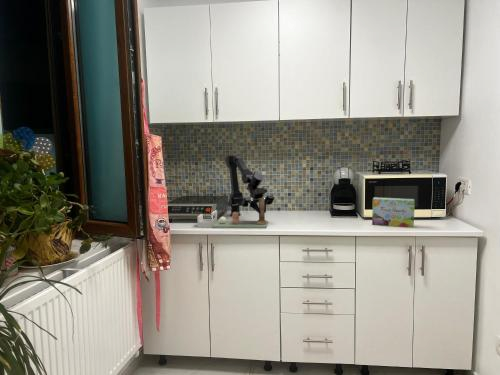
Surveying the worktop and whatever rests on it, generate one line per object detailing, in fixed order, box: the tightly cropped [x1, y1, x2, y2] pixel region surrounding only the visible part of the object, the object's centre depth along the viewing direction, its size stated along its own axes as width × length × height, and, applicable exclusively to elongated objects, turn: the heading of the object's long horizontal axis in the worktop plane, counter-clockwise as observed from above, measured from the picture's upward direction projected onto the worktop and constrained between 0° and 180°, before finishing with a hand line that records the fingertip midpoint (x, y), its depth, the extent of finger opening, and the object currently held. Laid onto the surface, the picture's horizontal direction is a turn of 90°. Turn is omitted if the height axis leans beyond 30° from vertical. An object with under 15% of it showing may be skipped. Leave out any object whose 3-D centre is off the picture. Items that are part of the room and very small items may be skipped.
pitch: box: [196, 209, 269, 229], centre depth 208 cm, size 14×39×8 cm, turn 83°
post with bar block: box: [231, 197, 268, 224], centre depth 206 cm, size 5×20×14 cm, turn 83°
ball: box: [218, 216, 227, 224], centre depth 208 cm, size 4×4×4 cm
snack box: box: [371, 196, 415, 228], centre depth 199 cm, size 21×6×15 cm, turn 66°
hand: (262, 212), depth 204 cm, fingers closed on post with bar block, 3 cm apart
